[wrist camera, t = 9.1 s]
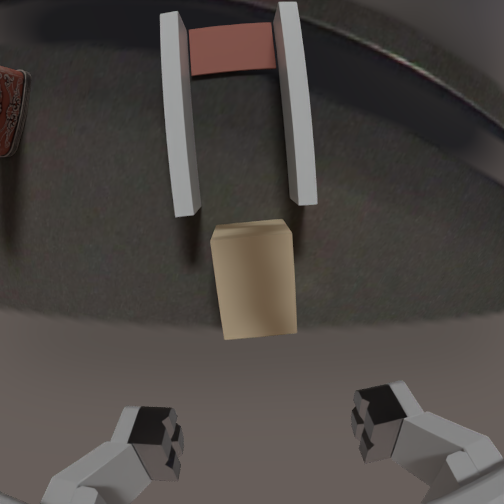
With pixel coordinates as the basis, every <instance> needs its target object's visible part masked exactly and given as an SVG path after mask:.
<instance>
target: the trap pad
mask: <svg viewBox="0 0 504 504" xmlns="http://www.w3.org/2000/svg"><path fill="white" fill-rule="evenodd" d="M189 40H190V57H191V72H192V76H199V75H206V74H215V73H224V72H234V71H247V70H262V69H276V64H275V63H276V62H275V53H274V45H273V36H272V28H271V23H251V24H250V23H249V24H235V25H226V26H215V27H206V28H199V29H192V30H189Z"/></svg>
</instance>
